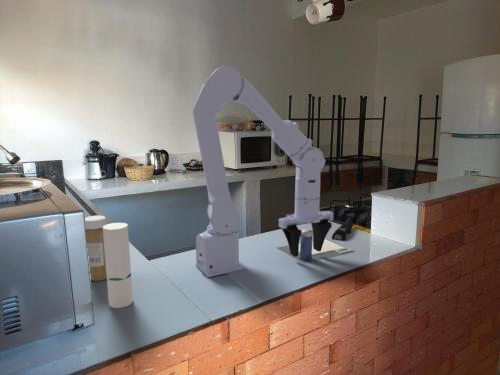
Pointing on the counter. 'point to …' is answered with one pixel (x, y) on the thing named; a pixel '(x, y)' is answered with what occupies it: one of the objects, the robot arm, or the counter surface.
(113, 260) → the tube
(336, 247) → the paper
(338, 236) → the electric trimmer
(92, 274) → the sprinkles bottle
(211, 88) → the robot arm
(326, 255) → the desk mat
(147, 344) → the counter surface
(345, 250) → the word tile
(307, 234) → the marker
